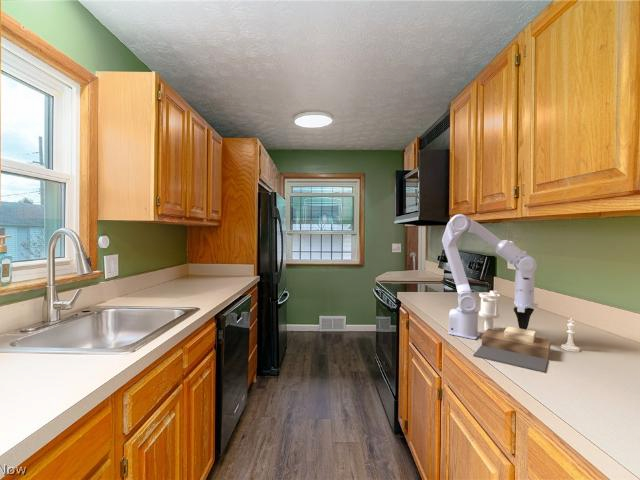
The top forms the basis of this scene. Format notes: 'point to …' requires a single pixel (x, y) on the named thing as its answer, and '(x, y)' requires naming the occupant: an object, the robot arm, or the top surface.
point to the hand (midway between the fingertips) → (523, 329)
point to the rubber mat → (512, 358)
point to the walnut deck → (516, 344)
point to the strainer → (489, 308)
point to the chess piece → (570, 339)
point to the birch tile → (519, 334)
